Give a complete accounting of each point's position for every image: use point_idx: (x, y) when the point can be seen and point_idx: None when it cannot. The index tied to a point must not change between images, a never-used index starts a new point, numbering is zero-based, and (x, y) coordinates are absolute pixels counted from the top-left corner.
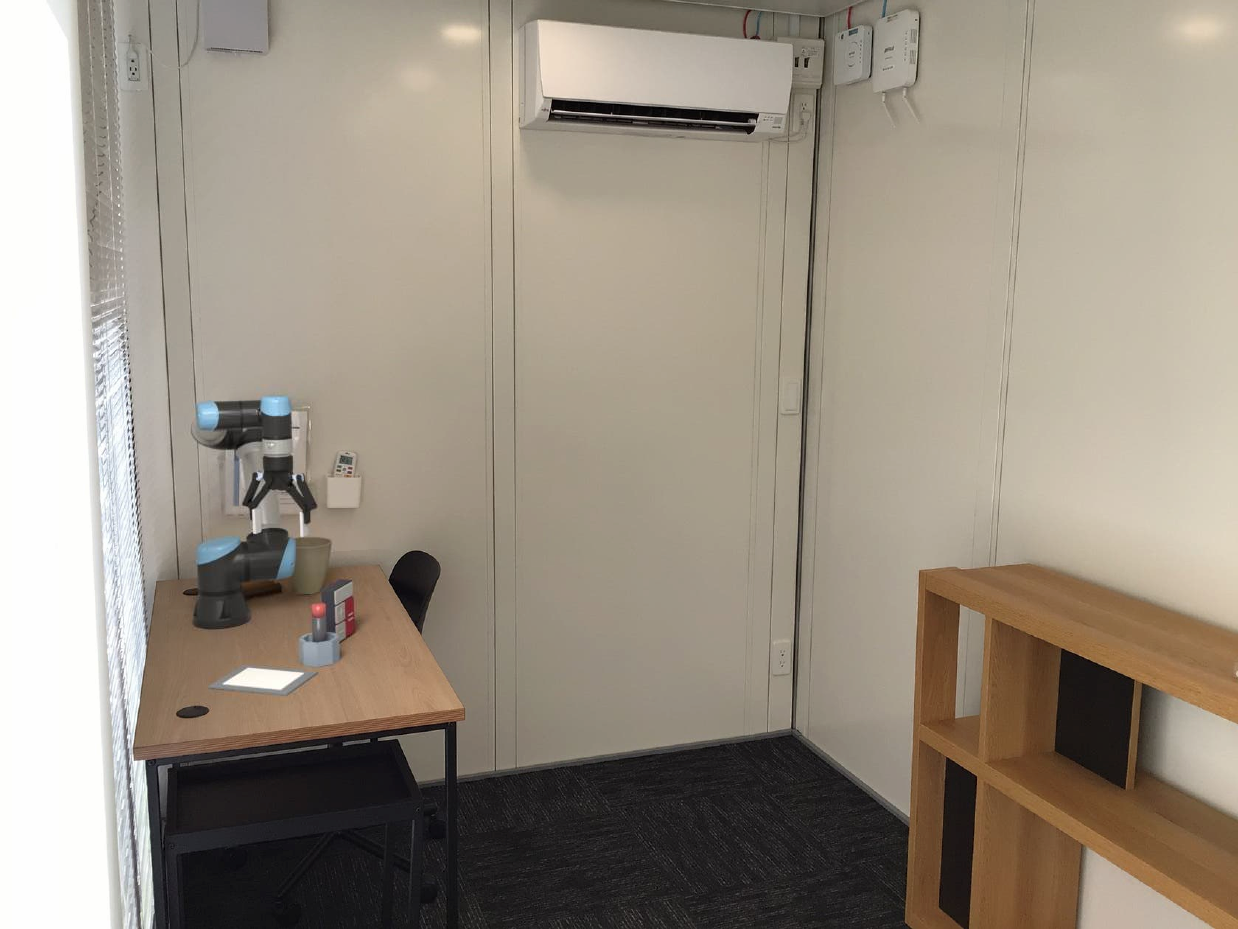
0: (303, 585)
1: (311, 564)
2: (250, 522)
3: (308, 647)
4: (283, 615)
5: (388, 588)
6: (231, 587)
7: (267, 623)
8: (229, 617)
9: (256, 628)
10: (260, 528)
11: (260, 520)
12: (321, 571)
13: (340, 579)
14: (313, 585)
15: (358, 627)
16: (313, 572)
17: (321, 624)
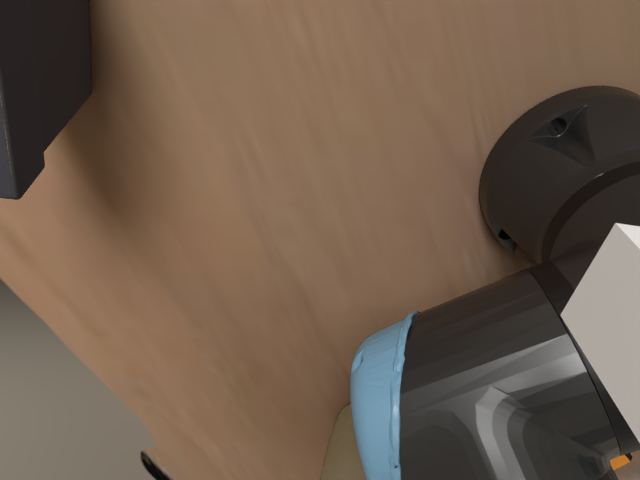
0: None
1: (352, 475)
2: None
3: None
4: (378, 242)
5: (163, 457)
6: (590, 209)
7: (409, 163)
8: (547, 129)
9: (434, 107)
10: (584, 332)
11: (632, 417)
12: (327, 466)
13: (6, 189)
14: (346, 422)
15: (65, 147)
16: (346, 454)
17: None
